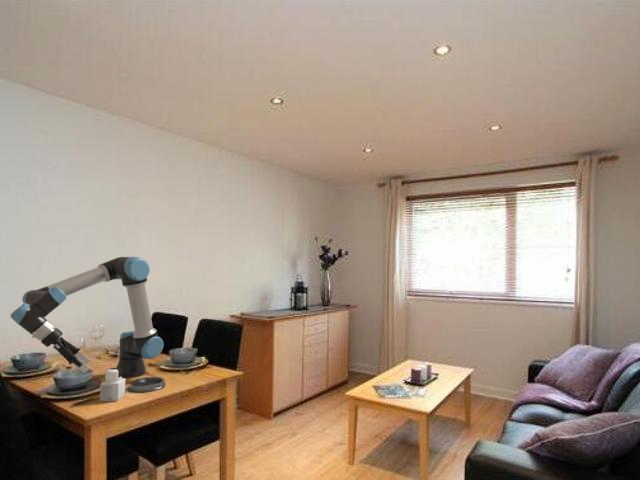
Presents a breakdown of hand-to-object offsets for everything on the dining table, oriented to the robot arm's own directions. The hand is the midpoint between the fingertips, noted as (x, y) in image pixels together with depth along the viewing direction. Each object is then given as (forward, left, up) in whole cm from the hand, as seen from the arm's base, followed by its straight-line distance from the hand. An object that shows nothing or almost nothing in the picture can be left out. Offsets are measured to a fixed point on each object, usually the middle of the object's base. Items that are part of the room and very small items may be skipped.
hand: (87, 366), depth 170 cm
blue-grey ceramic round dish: (+13, +25, -15) cm, 32 cm away
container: (+7, +7, -16) cm, 19 cm away
